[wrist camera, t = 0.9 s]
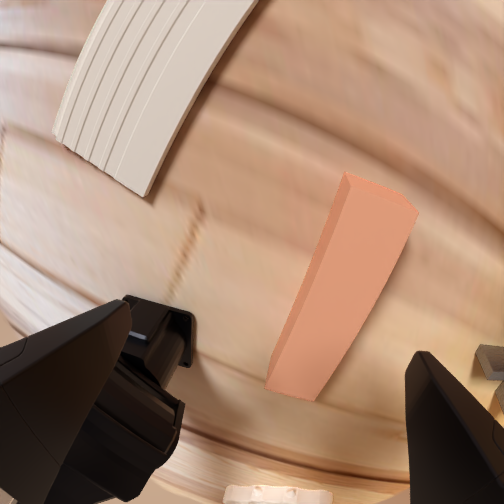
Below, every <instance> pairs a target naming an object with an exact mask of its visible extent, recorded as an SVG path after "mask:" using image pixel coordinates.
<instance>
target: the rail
mask: <svg viewBox="0 0 504 504" xmlns="http://www.w3.org/2000/svg"><path fill="white" fill-rule="evenodd" d="M418 215H419V212H418V211H417V210H416V209H415V208H414V207H413V205H412V204H411V203H410V202H409V201H408V200H407V199H406V198H405V197H404V196H403V195H402V194H401V193H398V192H396V191H393V190H391V189H388V188H386V187H383V186H381V185H378V184H376V183H373V182H371V181H368V180H365V179H363V178H360V177H357V176H355V175H352V174H349V173H346V172H344V175H343V177H342V180H341V183H340V186H339V189H338V191H337V194H336V197H335V200H334V203H333V205H332V208H331V211H330V213H329V216H328V219H327V222H326V224H325V227H324V229H323V232H322V235H321V237H320V240H319V243H318V245H317V248H316V250H315V253H314V255H313V258H312V261H311V263H310V266H309V268H308V271H307V273H306V276H305V278H304V280H303V283H302V285H301V288H300V290H299V293H298V295H297V298H296V300H295V302H294V305H293V307H292V310H291V312H290V314H289V317H288V319H287V321H286V324H285V326H284V328H283V331H282V333H281V335H280V337H279V340H278V342H277V344H276V347H275V349H274V351H273V353H272V356H271V360H270V364H269V369H268V374H267V378H266V383H265V388H264V389H267V390H270V391H274V392H277V393H281V394H285V395H289V396H292V397H296V398H300V399H304V400H308V401H312V402H313V401H314V400H315V398H316V397H317V396H318V394H319V393H320V391H321V390H322V388H323V387H324V385H325V384H326V382H327V381H328V380H329V378H330V377H331V375H332V373H333V372H334V370H335V369H336V367H337V366H338V364H339V363H340V361H341V360H342V358H343V356H344V355H345V353H346V352H347V350H348V348H349V347H350V345H351V344H352V342H353V340H354V339H355V337H356V335H357V334H358V332H359V330H360V329H361V327H362V325H363V323H364V322H365V320H366V318H367V316H368V315H369V313H370V311H371V309H372V308H373V306H374V304H375V302H376V300H377V299H378V297H379V295H380V293H381V291H382V289H383V287H384V285H385V284H386V282H387V280H388V278H389V276H390V274H391V272H392V270H393V268H394V266H395V264H396V262H397V260H398V258H399V256H400V254H401V252H402V250H403V248H404V245H405V243H406V241H407V239H408V237H409V235H410V233H411V230H412V228H413V226H414V224H415V221H416V219H417V217H418Z"/></svg>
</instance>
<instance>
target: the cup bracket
mask: <svg viewBox="0 0 504 504" xmlns="http://www.w3.org/2000/svg"><path fill="white" fill-rule="evenodd" d="M475 353H476V355H477V357H478V360H479V362H480V364H481V366H482V369H483V371H484V373H485V376H486V378H487V380H504V347H499V346H490V345H480V346H479V348H478V349H477V351H476V352H475ZM495 393H496V395H497V398H498V401H499V403H500V406H501V408H502V411H503V414H504V381H503V382H502V383H501V384H500V386H499V387H498V388H497V390H496V391H495Z"/></svg>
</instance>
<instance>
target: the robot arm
mask: <svg viewBox="0 0 504 504" xmlns="http://www.w3.org/2000/svg"><path fill="white" fill-rule="evenodd" d="M186 317H188V318H189V319H188V318H186ZM192 360H193V315H192V314H191V313H190V312H188V311H184V310H181V309H177V308H173V307H169V306H166V305H162V304H159V303H155V302H151V301H148V300H144V299H141V298H138V297H134V296H131V295H125V296H124V297H123V299H122V300H118V299H116V300H113V301H111V302H108V303H106V304H104V305H101V306H99V307H97V308H94V309H92V310H89V311H87V312H85V313H82V314H80V315H78V316H75V317H73V318H70V319H68V320H66V321H63V322H61V323H59V324H56V325H54V326H51V327H49V328H47V329H44V330H42V331H40V332H37V333H35V334H33V335H30V336H29V337H25V338H23V339H21V340H19V341H16V342H14V343H11V344H9V345H6V346H3V347H0V504H9V503H10V501H11V499H12V498H14V500H13V501H12V503H11V504H98V503H101V502H104V501H107V500H110V499H113V498H118V499H120V500H122V501H123V502H128V501H130V500H132V499H134V498H136V497H138V496H139V495H140V493H141V491H142V490H143V488H144V486H145V484H146V483H147V481H148V479H149V478H150V476H151V475H152V473H153V472H154V471H155V469H157V468H159V467H161V466H162V465H163V464H164V463H165V462H166V461H167V460H168V459H169V458H170V456H171V455H172V454H173V452H174V450H175V448H176V446H177V443H178V440H179V435H180V430H181V424H182V419H183V413H184V408H185V403H184V402H182V401H181V400H178V399H176V398H175V397H173V396H172V395H171V394H169V393H168V392H167V391H165V389H166V387H167V385H168V383H169V381H170V379H171V377H172V375H173V373H174V371H175V369H176V367H177V365H179V366H183V367H186V368H190V367H191V365H192ZM405 415H406V429H407V440H408V453H409V471H410V504H504V428H503V427H502V426H501V425H500V424H499V423H498V422H497V421H496V420H494V417H493V416H492V415H491V414H490V413H489V412H488V411H487V410H486V409H485V408H484V407H483V406H482V405H481V404H480V403H479V402H478V401H477V400H476V398H475V397H474V396H473V395H472V394H471V393H470V392H469V391H468V390H467V389H466V388H465V387H464V386H463V385H462V384H461V383H460V382H459V381H458V380H457V379H456V378H455V377H454V376H453V375H452V374H451V373H450V372H449V371H448V370H447V369H446V368H445V367H444V366H443V365H442V364H441V363H440V362H439V361H438V360H437V359H436V358H435V357H434V356H433V355H432V354H431V353H430V352H428V351H417V352H416V353H415V354H414V356H413V358H412V360H411V362H410V363H409V365H408V367H407V369H406V372H405Z"/></svg>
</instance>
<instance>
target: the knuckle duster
mask: <svg viewBox="0 0 504 504" xmlns="http://www.w3.org/2000/svg"><path fill="white" fill-rule="evenodd" d="M332 502H333V493H331V492H329V491H326V490H306V489H301V488H297V487H288V486H284V487H273V486H267V485H253V486H237V485H229V486H227V487H226V491H225V494H224V498H223V503H224V504H332Z"/></svg>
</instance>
